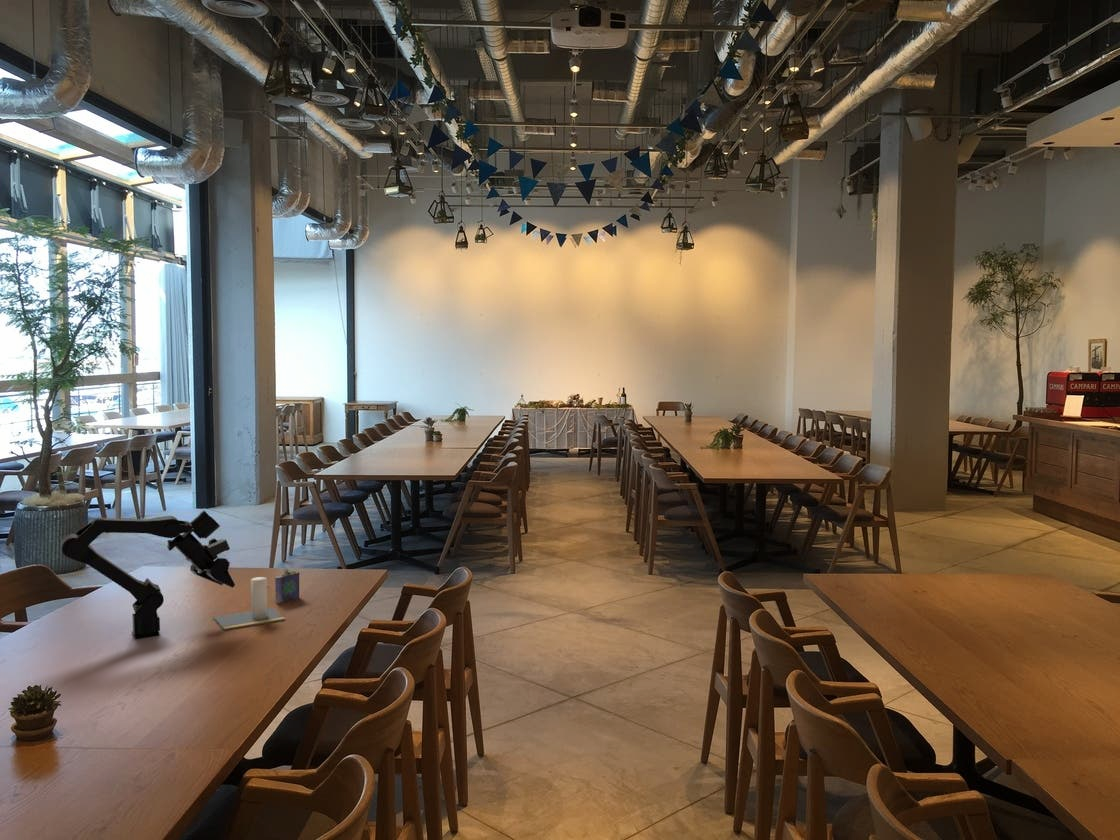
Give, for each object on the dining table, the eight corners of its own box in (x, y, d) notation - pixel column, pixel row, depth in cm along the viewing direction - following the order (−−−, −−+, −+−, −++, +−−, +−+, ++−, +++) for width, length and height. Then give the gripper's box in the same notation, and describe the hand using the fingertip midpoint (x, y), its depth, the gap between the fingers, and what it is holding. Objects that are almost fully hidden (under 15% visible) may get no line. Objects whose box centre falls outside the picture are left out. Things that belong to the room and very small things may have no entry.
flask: (278, 604, 285) (278, 572, 284) (272, 603, 287) (272, 571, 286) (301, 598, 293) (300, 566, 292) (295, 596, 294) (295, 565, 294)
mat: (224, 630, 258) (224, 628, 258) (213, 618, 270) (213, 616, 270) (285, 620, 269) (285, 618, 268) (272, 609, 280) (272, 607, 280)
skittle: (259, 620, 267) (258, 581, 266) (248, 617, 269) (247, 579, 268) (270, 616, 271) (269, 578, 270) (260, 614, 273) (259, 576, 272)
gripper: (224, 531, 257) (259, 567, 263) (202, 529, 271) (236, 563, 277) (195, 559, 251) (232, 595, 257) (175, 555, 265) (210, 590, 272)
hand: (228, 585), depth 266 cm, fingers open, 9 cm apart
